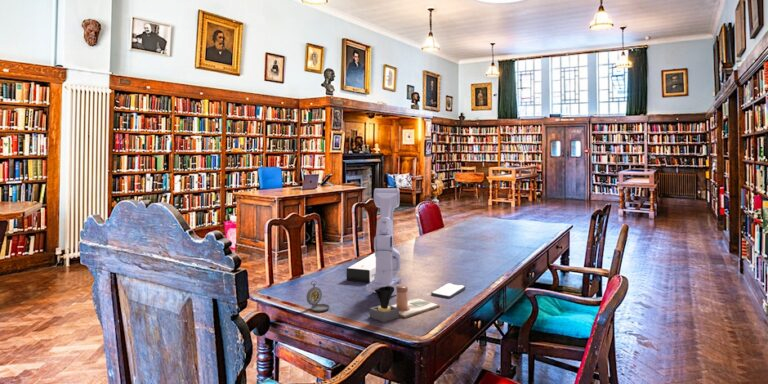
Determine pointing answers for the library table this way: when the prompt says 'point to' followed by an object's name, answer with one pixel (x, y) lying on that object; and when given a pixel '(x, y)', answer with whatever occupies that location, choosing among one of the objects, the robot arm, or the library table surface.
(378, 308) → the button
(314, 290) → the pocket watch
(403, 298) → the brown cylinder
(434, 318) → the library table surface
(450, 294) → the phone case
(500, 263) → the library table surface
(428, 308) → the colouring board
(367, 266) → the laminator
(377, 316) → the button base
